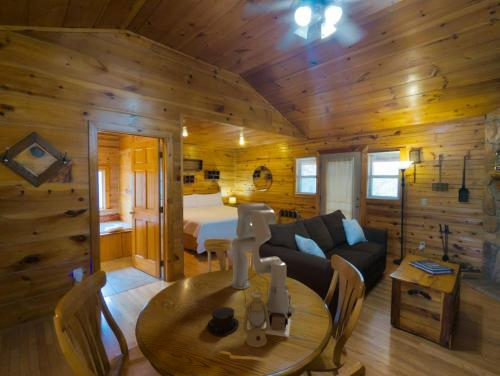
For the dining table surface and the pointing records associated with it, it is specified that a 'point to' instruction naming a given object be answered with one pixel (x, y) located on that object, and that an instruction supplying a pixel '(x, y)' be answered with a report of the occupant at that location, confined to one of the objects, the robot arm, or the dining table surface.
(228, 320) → the top hat
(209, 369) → the dining table surface
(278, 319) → the walnut block
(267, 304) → the robot arm
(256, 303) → the lantern
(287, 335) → the letter
